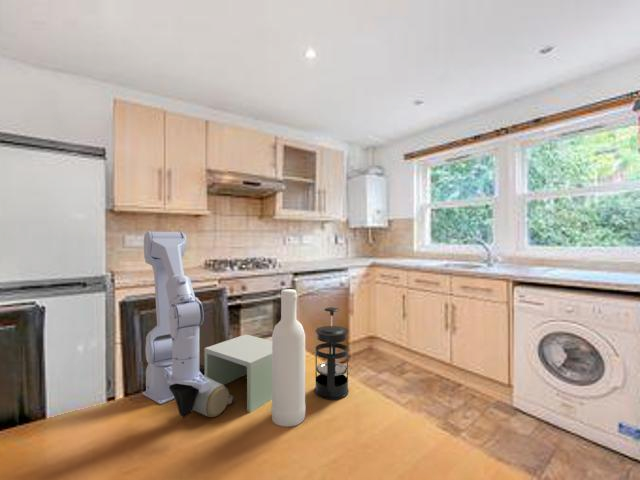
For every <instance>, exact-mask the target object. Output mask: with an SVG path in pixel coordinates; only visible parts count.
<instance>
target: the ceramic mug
mask: <svg viewBox="0 0 640 480" xmlns="http://www.w3.org/2000/svg"><path fill="white" fill-rule="evenodd" d="M203 376H204V377H205V379H207V380H208V381H209V390H208V391H205V392H203V393H200V392H198V394H197V396H196V399H195V402H194V405H193V409H192V411H195V412H197V413H199V414H202V415H203V416H206V417H209V418H214V417H217V416H220V415H221V414H222V413H223V411H225V409H226V407H227V406H228V405H229V404H232V403H233V400H234V396H233V395H232V394H230V391H229V389H228V388H227V387H226V386H225V385H223V384H221V383H219V382H216V381H214V380H212V379H210V378H208V377H206V376H205V375H203Z"/></svg>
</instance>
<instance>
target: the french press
mask: <svg viewBox="0 0 640 480" xmlns="http://www.w3.org/2000/svg"><path fill="white" fill-rule="evenodd" d="M323 311H326V312H329V313H330V314H329V316H331V317H330V319H331V320H330V325H326V326H325V325H324V326H320V327H317V328H316V329H315V333H316V336H317V337H316V338H317V340H318V341H319V342H322V343H320V344H317V345H316V346H315V387H314V393H315V396H317V397H318V398H321V399H322V400H323V399H324V400H329V401H334V400H335V401H336V400H341V399H343V398H346V397H347V396H348V395H349V392H350V391H349V390H350V389H349V347H348V346H347V345H345V344H343V343H342V342H345V341H346V340H347V334H348V333H349V330H348V329H347V328H346V327H343V326H338V325H337V326H336V325H333V318H334V317H333V316H335V315H334V312H335V313H336V312H339V311H340V308H338V307H332V306H331V307H325V308H324V309H323ZM326 348H329V349H328V352H322V351H319V350H322V349H326ZM336 348H338V349H341V350H344V351H343V352H339V353H336ZM318 357H319V358H322V359H327V362H323V363H320V364H318ZM345 357H346V365H345V364H343V363H339V362H336V360H337V359H343V358H345ZM317 374H318V375H317ZM345 374H346V375H345Z"/></svg>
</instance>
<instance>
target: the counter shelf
mask: <svg viewBox="0 0 640 480" xmlns="http://www.w3.org/2000/svg"><path fill="white" fill-rule="evenodd" d="M204 376H206V377H208V378H210V379H212V380H214V381H216V382H219V383H221V384H223V385H224V386H225V385H227V384H229V383H231V382H233V381H235V380H237V379H239V378H241V377H244V376H247V378H246V387H247V388H246V391H247V392H246V394H247V395H246V407H247V408H246V411H247V412H248V413H252V412H254V411H255V410H257V409H258V408H260V407H262V406H263V405H265V404H266V403H268V402H270V401H272V339H271V340H270V339H266V338H262V337H259V336H254V335H251V334H242V335H240V336H237V337H233V338H230V339H228V340H224V341H221V342H219V343H216V344H213V345H209V346H206V347H205V348H204Z"/></svg>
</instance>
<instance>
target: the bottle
mask: <svg viewBox="0 0 640 480" xmlns="http://www.w3.org/2000/svg"><path fill="white" fill-rule="evenodd" d="M280 293H281V294H280V302H281V303H280V315H281V316H280V320H279V322H278V323H276V324H275V325H274V328H273V331H272V335H271V338H272V339H271V341H272V399H271V402H272V403H271V419H272V422H273V423H274V425H275V424H276V425H277V426H279V427H284V428H290V427H295V426H299V425H300V424H301V423H302V422H304V421H305V418H306V409H307V408H306V332H305V330H304V327H303V324H302V323H301V322H300V321H299V320H298V319H297V304H298V303H297V302H298V301H297V299H298V294H297V293H298V292H297V290H296V289H293V288H289V289H281V291H280Z"/></svg>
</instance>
